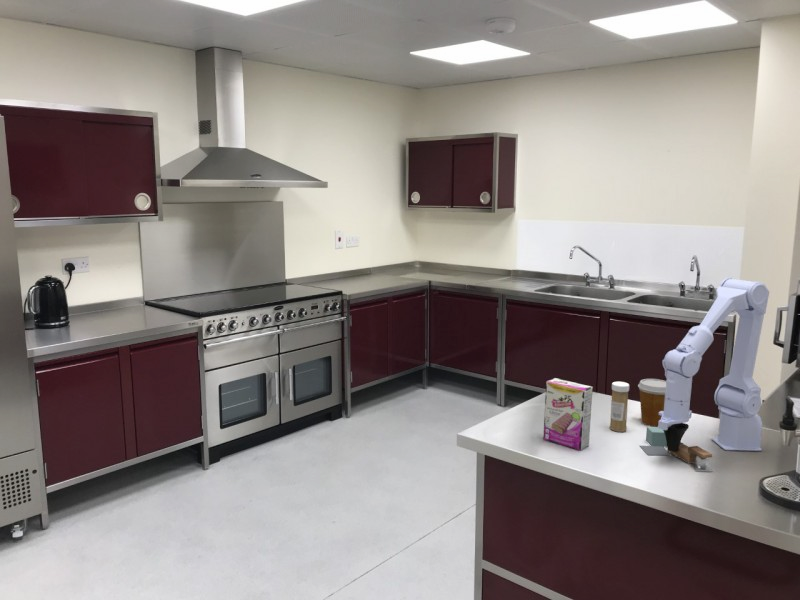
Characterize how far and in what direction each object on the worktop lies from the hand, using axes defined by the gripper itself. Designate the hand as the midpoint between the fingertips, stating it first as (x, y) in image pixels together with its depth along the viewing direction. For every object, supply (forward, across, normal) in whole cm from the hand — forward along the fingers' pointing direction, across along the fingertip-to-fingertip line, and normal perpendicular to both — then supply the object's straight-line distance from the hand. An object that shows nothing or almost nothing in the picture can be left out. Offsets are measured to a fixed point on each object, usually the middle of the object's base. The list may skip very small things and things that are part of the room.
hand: (672, 450), depth 155 cm
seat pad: (+2, -1, -4) cm, 5 cm away
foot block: (+2, -6, -7) cm, 9 cm away
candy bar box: (+2, +12, -23) cm, 26 cm away
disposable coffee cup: (+2, -21, -15) cm, 25 cm away
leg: (+1, -1, +4) cm, 4 cm away
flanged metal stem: (+2, +1, +8) cm, 8 cm away
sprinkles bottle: (+2, -8, -19) cm, 20 cm away
